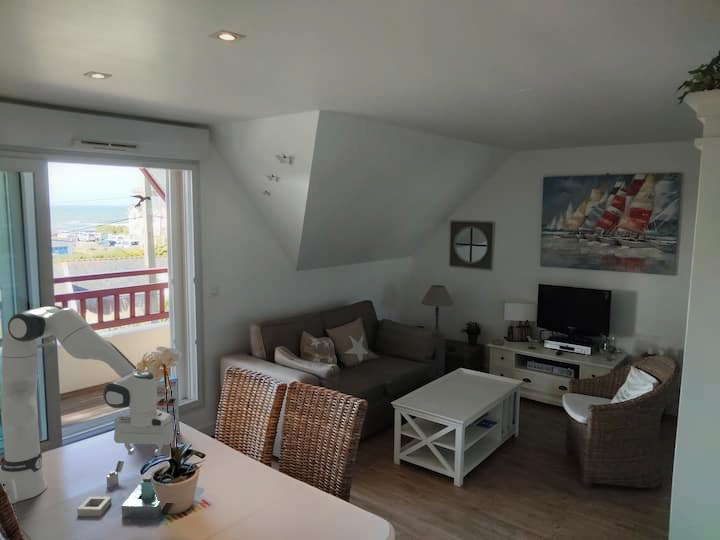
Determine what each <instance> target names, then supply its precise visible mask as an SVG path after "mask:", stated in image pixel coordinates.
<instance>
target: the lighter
mask: <svg viewBox="0 0 720 540" xmlns="http://www.w3.org/2000/svg"><path fill="white" fill-rule="evenodd" d="M124 463H125V461H124V460H118V461H117V463H116V468H115V470H112V471H110V472H109V474H108V475H106V488H108V489H110V488H113V487H114V486H116V485H118V484H119V473H122V470H123V467H124Z"/></svg>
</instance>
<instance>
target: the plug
mask: <svg viewBox="0 0 720 540" xmlns="http://www.w3.org/2000/svg"><path fill="white" fill-rule="evenodd" d="M151 477H153V475H145V476H144V477H143V478H142V480H141V482H140V485H141V497H142V499H152V498H153V496H154V495H155V492H154V489H153V486H152V481H151Z"/></svg>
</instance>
